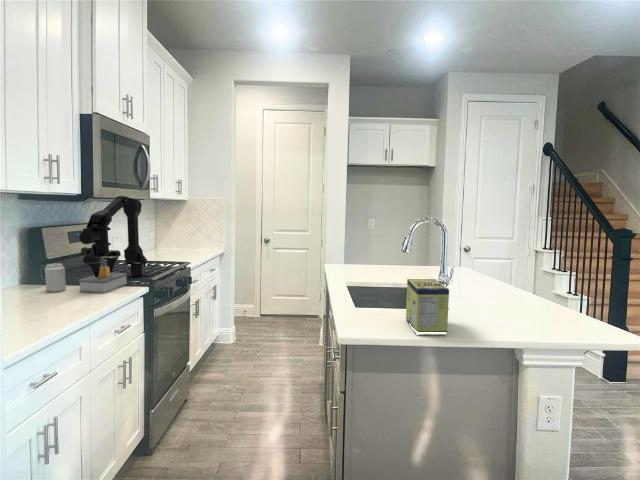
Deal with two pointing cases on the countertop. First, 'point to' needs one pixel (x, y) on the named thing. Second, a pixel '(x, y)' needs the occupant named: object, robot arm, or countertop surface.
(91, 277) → the grey lid
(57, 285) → the can
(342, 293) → the countertop surface
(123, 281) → the tub
